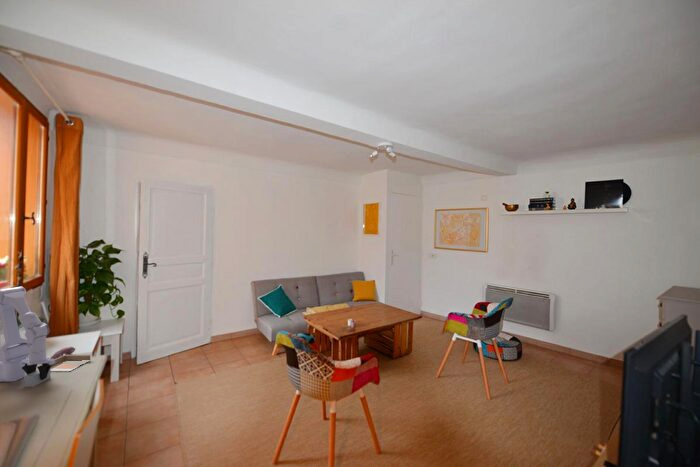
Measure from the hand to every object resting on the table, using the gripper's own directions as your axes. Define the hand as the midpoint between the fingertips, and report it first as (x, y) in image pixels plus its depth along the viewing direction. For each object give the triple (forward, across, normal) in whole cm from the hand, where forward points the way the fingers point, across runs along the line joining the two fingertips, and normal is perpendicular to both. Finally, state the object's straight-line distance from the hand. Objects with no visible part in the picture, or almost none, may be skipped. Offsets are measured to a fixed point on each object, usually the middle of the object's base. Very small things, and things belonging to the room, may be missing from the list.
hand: (38, 379), depth 142 cm
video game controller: (+2, -13, +26) cm, 29 cm away
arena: (+1, -1, +16) cm, 16 cm away
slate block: (+2, 0, 0) cm, 2 cm away
